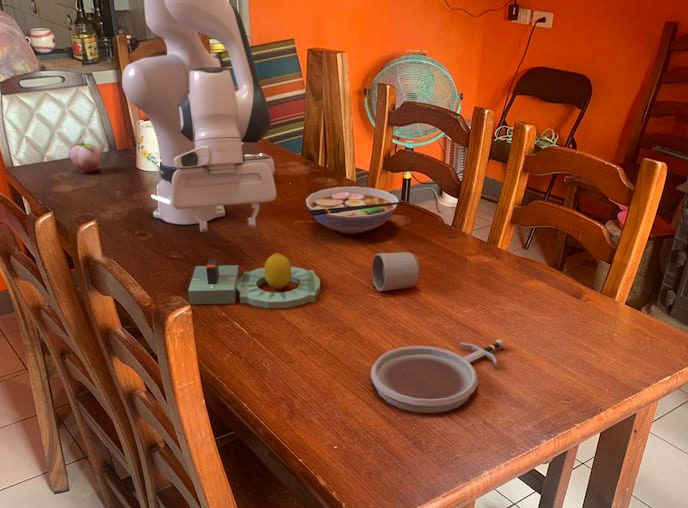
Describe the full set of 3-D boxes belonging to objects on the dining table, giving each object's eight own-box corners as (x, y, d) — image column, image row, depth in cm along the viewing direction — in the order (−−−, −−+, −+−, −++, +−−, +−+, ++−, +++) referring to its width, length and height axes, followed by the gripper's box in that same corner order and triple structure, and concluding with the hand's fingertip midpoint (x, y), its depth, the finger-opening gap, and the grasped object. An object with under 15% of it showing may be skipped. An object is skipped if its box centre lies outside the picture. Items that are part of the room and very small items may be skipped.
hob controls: (197, 279, 144) (195, 265, 142) (239, 278, 144) (238, 264, 143) (189, 304, 134) (187, 290, 132) (235, 303, 134) (233, 289, 132)
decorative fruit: (109, 170, 214) (104, 138, 209) (92, 177, 208) (86, 144, 202) (86, 167, 217) (80, 135, 212) (68, 174, 211) (61, 141, 206)
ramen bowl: (381, 209, 182) (382, 179, 177) (416, 239, 163) (418, 206, 159) (291, 219, 175) (290, 188, 171) (317, 252, 156) (316, 218, 152)
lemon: (288, 296, 137) (286, 259, 133) (261, 294, 138) (259, 257, 133) (294, 285, 141) (293, 249, 137) (269, 282, 142) (267, 247, 138)
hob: (240, 273, 146) (239, 266, 146) (318, 271, 147) (318, 265, 146) (233, 309, 132) (233, 302, 131) (321, 307, 132) (321, 300, 132)
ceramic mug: (421, 291, 138) (423, 256, 134) (384, 297, 136) (385, 261, 132) (399, 272, 147) (401, 238, 143) (364, 277, 145) (365, 243, 141)
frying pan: (544, 355, 112) (424, 413, 97) (541, 370, 114) (422, 430, 99) (466, 317, 124) (348, 364, 109) (465, 331, 125) (348, 380, 110)
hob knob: (210, 274, 138) (208, 258, 137) (219, 274, 139) (217, 258, 137) (207, 284, 135) (206, 267, 133) (217, 283, 135) (215, 267, 133)
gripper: (271, 153, 135) (277, 223, 138) (166, 161, 131) (176, 233, 134) (275, 151, 129) (282, 224, 132) (166, 158, 125) (176, 234, 128)
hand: (228, 229), depth 133 cm, fingers open, 8 cm apart
